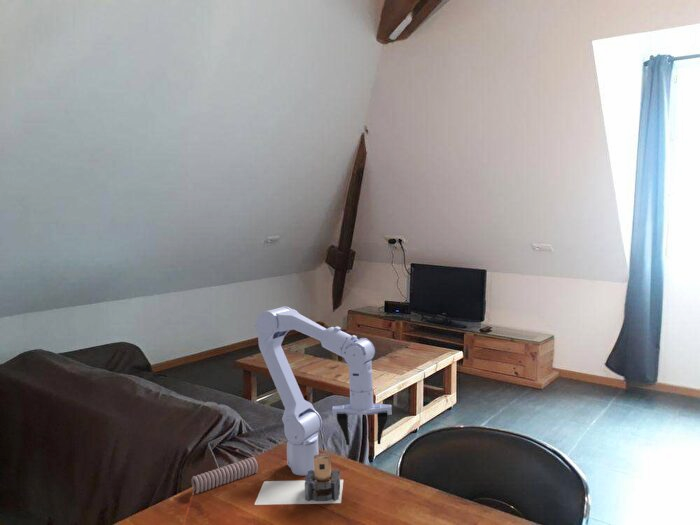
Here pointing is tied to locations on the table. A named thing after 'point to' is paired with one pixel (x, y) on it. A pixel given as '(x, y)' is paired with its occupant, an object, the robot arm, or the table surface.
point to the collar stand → (322, 487)
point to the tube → (322, 470)
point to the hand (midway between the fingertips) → (363, 443)
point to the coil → (224, 474)
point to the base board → (288, 493)
